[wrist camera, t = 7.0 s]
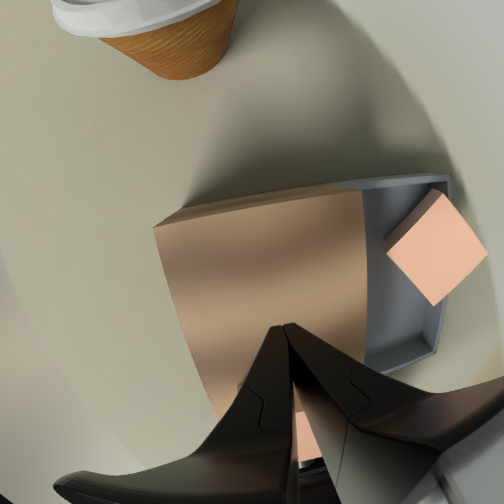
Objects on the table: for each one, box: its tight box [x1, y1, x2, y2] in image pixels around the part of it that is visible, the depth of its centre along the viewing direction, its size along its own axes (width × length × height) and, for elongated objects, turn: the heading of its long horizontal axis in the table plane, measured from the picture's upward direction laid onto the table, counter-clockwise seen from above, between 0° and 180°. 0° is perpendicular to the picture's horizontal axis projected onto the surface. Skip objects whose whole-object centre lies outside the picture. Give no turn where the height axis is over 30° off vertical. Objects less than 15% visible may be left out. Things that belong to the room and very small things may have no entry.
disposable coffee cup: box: [50, 0, 239, 80], centre depth 9 cm, size 10×10×12 cm
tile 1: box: [237, 383, 322, 462], centre depth 14 cm, size 6×6×3 cm
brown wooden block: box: [153, 184, 367, 421], centre depth 18 cm, size 17×10×7 cm, turn 10°
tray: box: [321, 173, 452, 375], centre depth 20 cm, size 17×10×3 cm, turn 10°
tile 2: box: [384, 188, 488, 306], centre depth 17 cm, size 6×6×3 cm
